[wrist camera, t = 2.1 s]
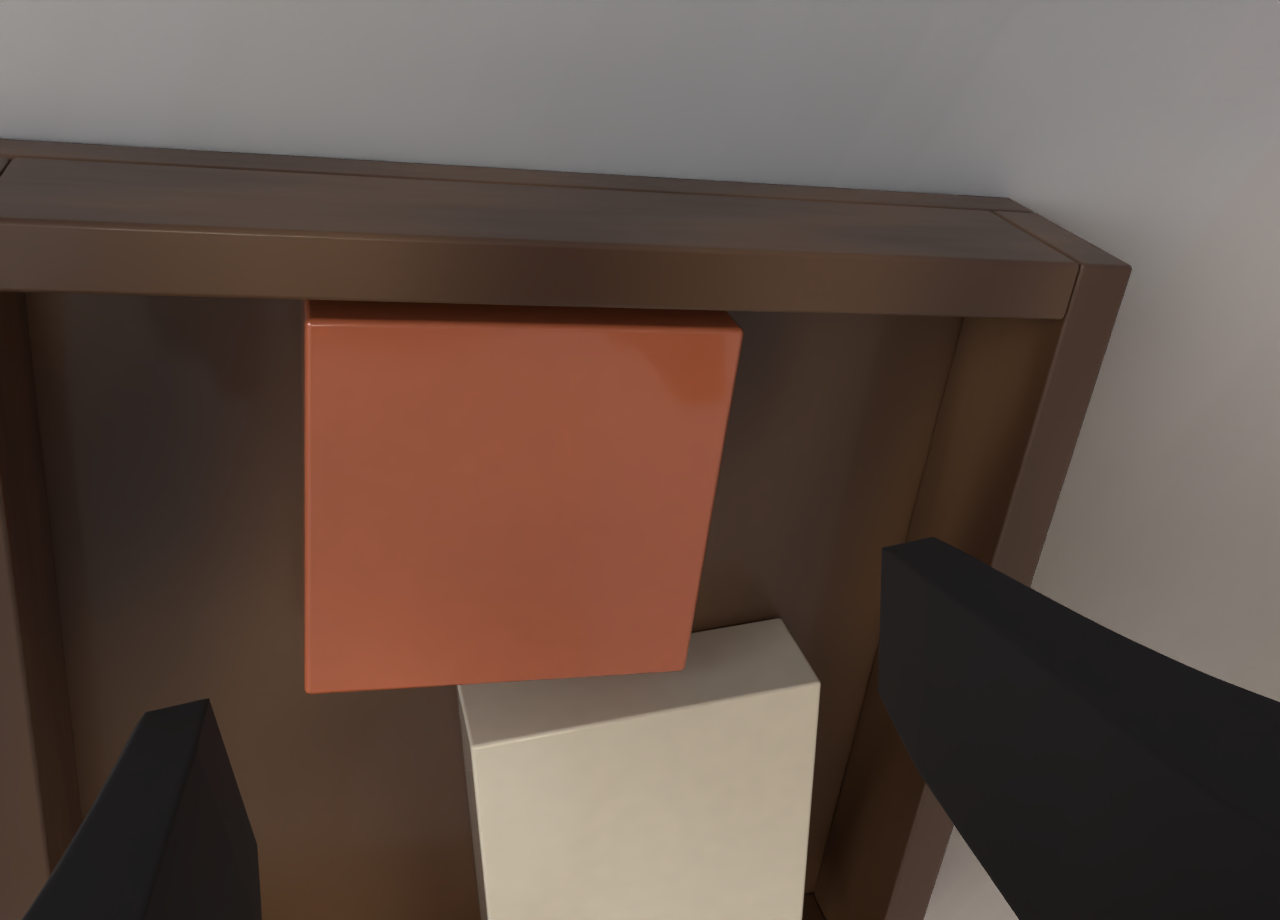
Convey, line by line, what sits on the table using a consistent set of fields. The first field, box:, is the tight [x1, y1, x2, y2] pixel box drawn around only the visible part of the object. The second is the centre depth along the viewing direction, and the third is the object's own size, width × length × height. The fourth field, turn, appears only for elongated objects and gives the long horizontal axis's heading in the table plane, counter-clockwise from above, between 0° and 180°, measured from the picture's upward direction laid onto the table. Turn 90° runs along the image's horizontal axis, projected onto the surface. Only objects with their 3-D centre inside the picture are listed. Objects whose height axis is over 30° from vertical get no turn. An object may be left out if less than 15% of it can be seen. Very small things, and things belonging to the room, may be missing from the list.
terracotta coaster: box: [301, 299, 744, 694], centre depth 17 cm, size 6×6×2 cm
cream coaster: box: [456, 618, 821, 920], centre depth 21 cm, size 6×6×2 cm
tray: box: [0, 139, 1132, 920], centre depth 19 cm, size 15×15×3 cm
